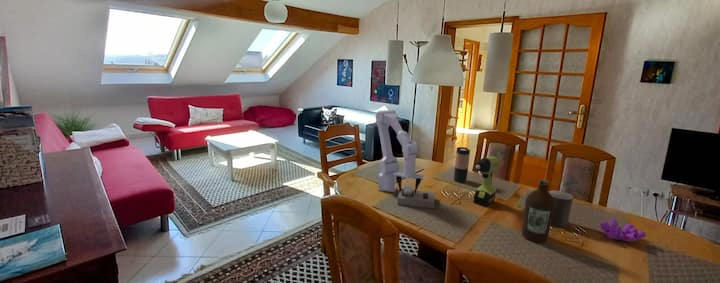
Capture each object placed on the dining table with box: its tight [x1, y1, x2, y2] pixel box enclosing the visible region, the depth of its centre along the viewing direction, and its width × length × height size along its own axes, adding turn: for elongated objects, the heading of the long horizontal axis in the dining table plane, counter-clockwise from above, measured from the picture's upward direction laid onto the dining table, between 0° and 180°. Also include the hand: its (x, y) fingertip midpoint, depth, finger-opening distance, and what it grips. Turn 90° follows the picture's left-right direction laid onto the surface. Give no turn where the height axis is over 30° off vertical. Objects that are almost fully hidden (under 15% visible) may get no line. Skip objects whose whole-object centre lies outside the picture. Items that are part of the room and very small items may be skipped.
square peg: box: [403, 183, 414, 197], centre depth 164 cm, size 4×4×8 cm
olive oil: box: [521, 179, 555, 244], centre depth 130 cm, size 11×11×25 cm
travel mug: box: [453, 146, 471, 184], centre depth 189 cm, size 8×8×20 cm
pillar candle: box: [548, 190, 574, 228], centre depth 143 cm, size 10×10×15 cm
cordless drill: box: [472, 156, 501, 208], centre depth 158 cm, size 23×7×25 cm, turn 137°
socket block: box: [396, 188, 436, 209], centre depth 163 cm, size 18×12×4 cm, turn 77°
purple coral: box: [599, 219, 647, 242], centre depth 132 cm, size 11×15×10 cm
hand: (407, 191), depth 163 cm, fingers open, 7 cm apart
